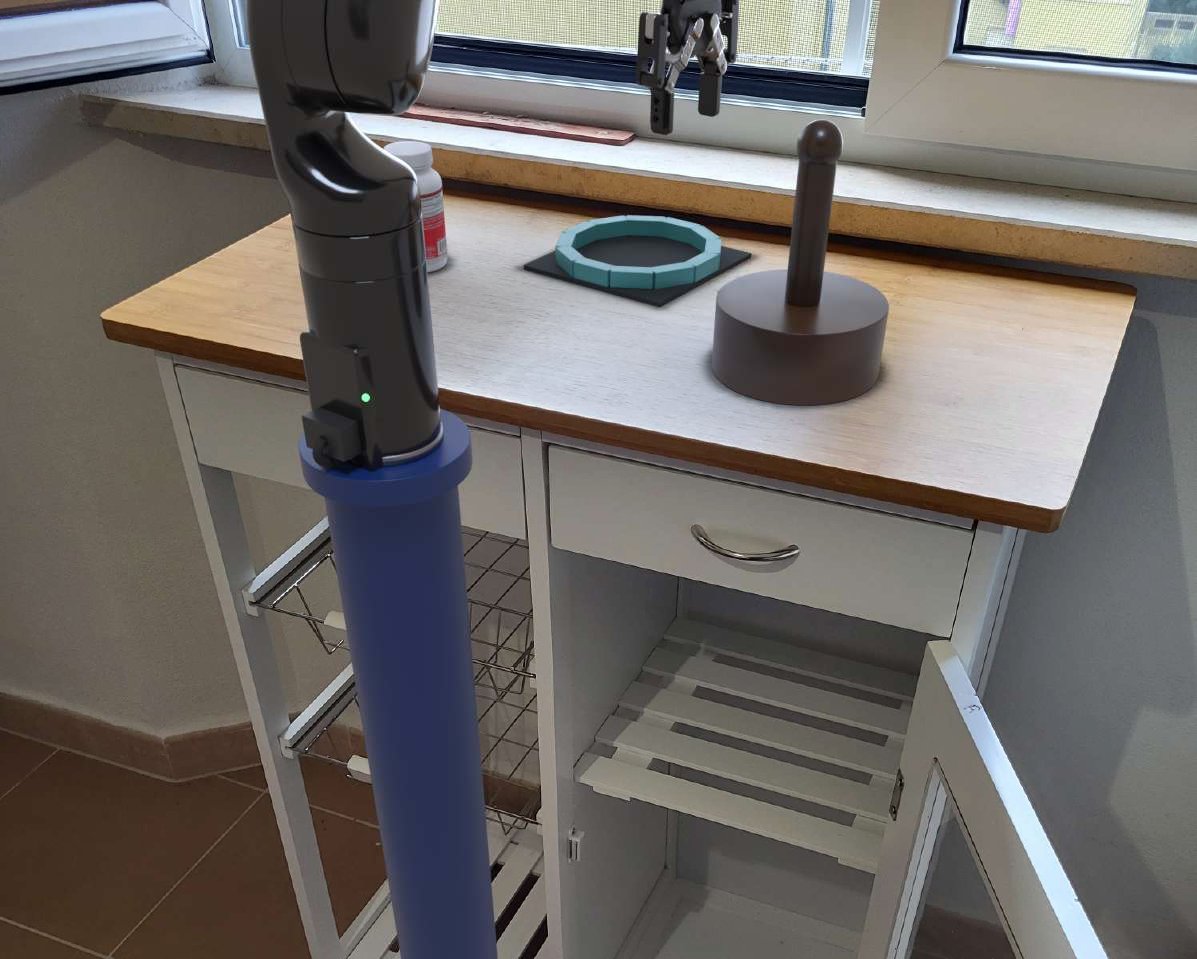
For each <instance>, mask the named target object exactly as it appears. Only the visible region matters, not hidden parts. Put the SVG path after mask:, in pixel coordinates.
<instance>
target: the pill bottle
mask: <svg viewBox="0 0 1197 959" xmlns="http://www.w3.org/2000/svg"><path fill="white" fill-rule="evenodd" d="M383 149H384V150H385V151H387V152H388V153H390V154H392V155H394V156H395V157H397V158H399V159H401V160H402V161H404V162H405V163H407V164H408V165H409V166H410V167H411V168H412V169H413V171H414V172H415V174H416V176H417V178H418V182H419V187H420V195H421V207H422V218H423V229H424V240H425V251H426V264H427V273H431V272H436V271H438V270H441V269H442V268H443V267H444V266H445V265H446V264H447V262H448V244H447V231H446V230H447V229H446V218H445V205H444V194H443V181H442V177H441V175H440V173H438V171H436V170H435V169H434V168H432V165H433V161H434V158H433V157H434V156H433V150H432V149H433V148H432V146H431V144H429V143H426V142H422V141H415V140H401V141H395V142H391V143H387V145H386V144H385V146H384V147H383Z"/></svg>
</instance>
